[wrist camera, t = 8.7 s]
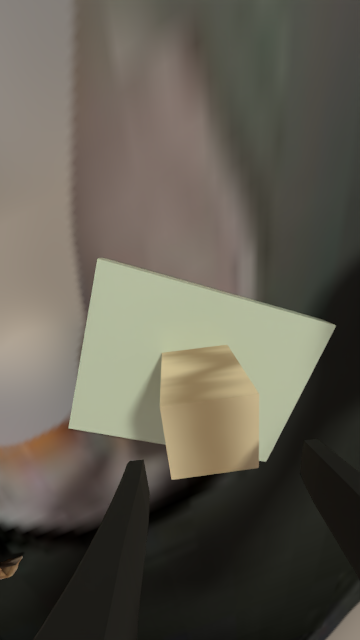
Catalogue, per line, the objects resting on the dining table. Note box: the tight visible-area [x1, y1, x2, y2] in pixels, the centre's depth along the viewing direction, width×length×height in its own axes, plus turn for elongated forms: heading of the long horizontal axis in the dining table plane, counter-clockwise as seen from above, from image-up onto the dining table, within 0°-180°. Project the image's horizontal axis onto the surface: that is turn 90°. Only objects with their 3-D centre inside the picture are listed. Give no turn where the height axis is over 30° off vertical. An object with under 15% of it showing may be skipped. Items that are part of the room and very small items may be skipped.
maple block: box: [160, 345, 259, 480], centre depth 15 cm, size 5×5×6 cm
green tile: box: [69, 258, 336, 462], centre depth 18 cm, size 18×14×2 cm
